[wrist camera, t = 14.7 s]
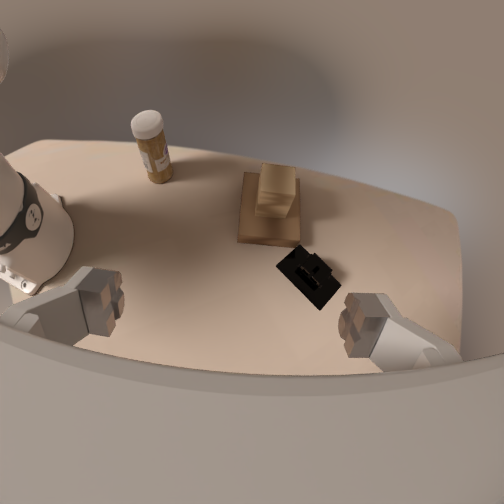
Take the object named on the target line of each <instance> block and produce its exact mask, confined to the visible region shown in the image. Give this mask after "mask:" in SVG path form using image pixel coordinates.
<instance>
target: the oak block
mask: <svg viewBox="0 0 504 504" xmlns="http://www.w3.org/2000/svg"><path fill="white" fill-rule="evenodd" d="M295 195H296V193H295V167H289V166H281V165H273V164H265V163H262V168H261V172H260V177H259V182H258V187H257V194H256V208H255V216H261V217H271V218H280V219H285V218H286V216H287V213H288V211H289V209H290V206H291V204H292V202H293V200H294V197H295Z"/></svg>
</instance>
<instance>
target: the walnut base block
mask: <svg viewBox="0 0 504 504" xmlns="http://www.w3.org/2000/svg"><path fill="white" fill-rule="evenodd" d="M259 177H260V174H258V173H248V172H244V179H243V188H242V199H241V209H240V219H239V230H238V241H237V242H239V243H249V244H259V245H269V246H279V247H289V248H296V246H297V245H298V243H299V242H300V180H299V179H297V178H295V193H296V195H295V197H294V200H293V202H292V204H291V206H290V209H289V211H288V213H287V216H286V218H285V219H280V218H271V217H261V216H255V208H256V194H257V187H258V182H259Z"/></svg>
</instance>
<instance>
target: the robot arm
mask: <svg viewBox="0 0 504 504" xmlns="http://www.w3.org/2000/svg"><path fill="white" fill-rule="evenodd" d="M8 61H9V48H8V42H7V39H6V37H5V34H4V33H3V31H2V30H1V29H0V83H1V82H2V81H3V79H4V78H5V75H6V71H7V68H8ZM73 239H74V228H73V223H72V220H71V218H70V216H69V215H68V213H67V212H66V211H65V210H64V209H63V207H62V201H61V198H60V197H59V196H58V195H57V194H52V195H50V194H49V193H48V192H46V191H45V190H44V189H43V188H42V187H41V186H40V185H39V184H37V183H32V184H31V183H30V181H29V180H28V179H27V178H26V177H25V176H23V175H22V174H21V173H19V172H16V171H15V169H14V168H13V167H12V166H11V165H10V163H9V162H8V161H7V160H6V159H5V157H4V156H3V155H2V154H1V152H0V278H1V279H2V280H4V281H6V282H7V283H9V284H11V285H12V286H14V287H16V288H17V289H19V290H21V291H22V292H24V293H26V294H28V295H30V296H31V295H33V294H34V293H35V292H36V291H37V290H38V289H39V287H40V286H41V284H43V283H44V282H45V281H47V280H49V279H50V278H52V277H53V276H54V275H56V274H57V273H58V272H59V271H60V269H61V268H62V267H63V265H64V264H65V262H66V261H67V259H68V257H69V254H70V252H71V249H72V245H73ZM121 284H122V276H121V273H120V272H119V271H115V270H108V269H102V268H95V267H89V266H82V267H81V268H80V269H79V270H78V271H77V272H76V273H75V274H74V275H73V276H72V277H71V278H70V279H69V281H68V282H67V283H66V284H65V285H64V286H63V287H61V286H59V287H56V288H54V289H51V290H48V291H46V292H43V293H41V294H38V295H36V296H33V297H31V298H28V299H26V300H23V301H21V302H18V303H16V304H13V305H11V306H9V307H8V308H7V309H6V310H5V312H4V313H3V314H2V315H1V316H0V504H504V353H502V354H498V355H493V356H489V357H484V358H480V359H476V360H470V361H465V362H464V360H463V359H462V358H461V356H460V355H459V353H458V352H457V350H456V349H455V348H454V346H453V345H452V344H450V343H448V342H447V341H445V340H443V339H442V338H440V337H438V336H436V335H435V334H433V333H431V332H430V331H428V330H426V329H425V328H423V327H421V326H420V325H418V324H416V323H415V322H413V321H411V320H409V319H408V318H403V317H402V315H401V314H400V313H399V311H398V310H397V308H396V307H395V305H394V304H393V303H392V301H391V300H390V298H389V297H388V296H387V295H386V294H384V293H348V295H347V296H346V299H345V302H344V303H345V306H346V309H344V310H343V311H342V312H341V314H340V317H339V323H338V330H339V334H340V337H341V338H342V339H344V340H345V343H344V347H345V350H346V352H347V355H348V357H349V358H369V359H370V360H371V361H372V362H373V363H374V364H376V365H377V366H378V367H379V368H380V369H381V370H382V371H383V372H382V373H369V374H352V375H317V376H298V375H263V374H245V373H231V372H219V371H209V370H200V369H191V368H183V367H176V366H169V365H162V364H156V363H150V362H144V361H138V360H133V359H128V358H122V357H118V356H113V355H108V354H103V353H99V352H95V351H90V350H86V349H82V348H78V347H74V346H73V345H74V344H76V343H77V342H79V341H80V340H82V339H83V338H84V337H86V336H87V335H89V334H94V335H100V336H106V337H110V335H111V333H112V332H113V330H114V328H115V326H116V323H115V320H117V319H118V318H120V317H121V315H122V313H123V309H124V293H123V291H122V290H121V289H120V285H121ZM25 285H26V287H25ZM88 333H89V334H88Z"/></svg>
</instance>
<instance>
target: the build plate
mask: <svg viewBox="0 0 504 504" xmlns="http://www.w3.org/2000/svg"><path fill="white" fill-rule="evenodd" d="M276 267H277V268H278V269H279V270H280V271H281V272H282V273H283V274H284V275H285V276H286V277H287V278H288V279H289V280H290V281H291V282H292V283H293V284H294V285H295V286H296V287H297V288H298V289H299V290H300V291H301V292H302V293H303V294H304V295H305V296H306V297H307V298H308V300H309V301H310V302H311V303H312V304H313V305H314V306H315V307H316V308H317V309H318V310H321V309H322V308H323V307H324V306H325V304H326V303H327V302H328V301H329V300H330V299H331V297H332V296H333V295H334V294H335V293H336V291H337V290H338V289H339V288H340V287H341V284H340V283H339V282H338V281H337V280H336V279H335V278H334V277H333V276H332V275H331V274H332V273H331V272H332V269H331V268H330V267H329V266H328V265H327V264H326V263H325V262H324V261H323V260H322V259H321V258H320V257H319V256H318V255H317V254H316V253H314V254H313V255H312V254H310V253H309V252H308V251H306V250H305V249H304V248H303V247H302V246H301V245H298V246H297V247H296V248H295V249H294V250H293V251H292V252H290V253H289V254H288V255H287V256H286V257H285V258H284V259H283V260H282V261H280V262H279V263H278V264H277V265H276Z"/></svg>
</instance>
